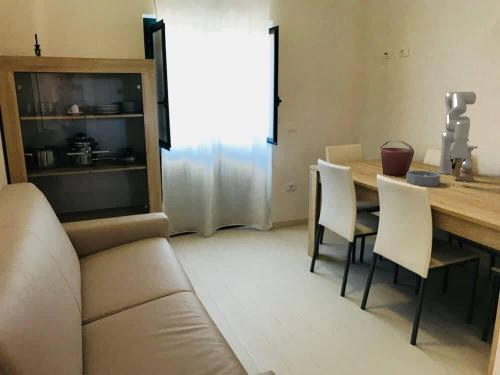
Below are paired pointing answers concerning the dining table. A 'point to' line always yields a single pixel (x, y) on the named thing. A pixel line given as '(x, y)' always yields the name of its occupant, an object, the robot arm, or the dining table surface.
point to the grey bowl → (423, 178)
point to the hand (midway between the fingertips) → (456, 168)
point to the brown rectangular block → (457, 168)
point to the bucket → (396, 160)
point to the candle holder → (467, 167)
